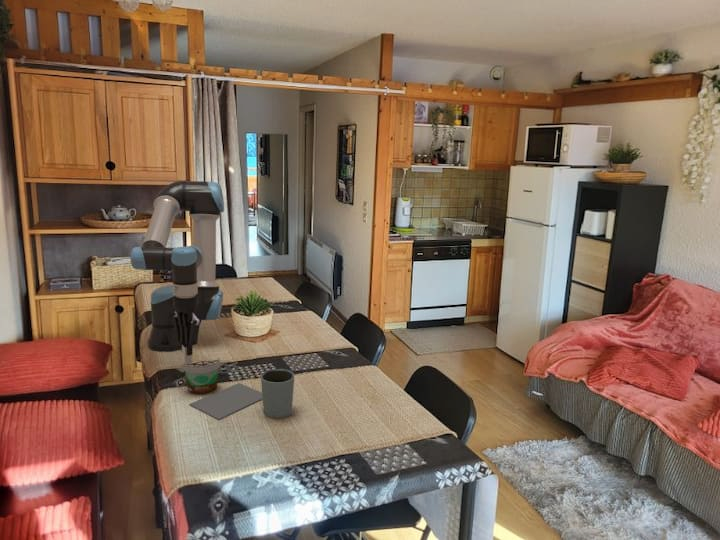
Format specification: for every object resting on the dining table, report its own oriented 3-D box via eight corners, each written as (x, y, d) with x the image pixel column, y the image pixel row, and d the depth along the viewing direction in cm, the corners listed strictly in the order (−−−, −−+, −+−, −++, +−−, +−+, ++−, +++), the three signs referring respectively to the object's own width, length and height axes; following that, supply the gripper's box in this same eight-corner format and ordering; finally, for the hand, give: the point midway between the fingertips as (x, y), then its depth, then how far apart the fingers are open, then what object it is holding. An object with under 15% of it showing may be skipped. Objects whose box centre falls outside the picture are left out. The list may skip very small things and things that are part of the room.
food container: (186, 399, 169) (185, 369, 167) (182, 391, 174) (181, 362, 172) (225, 392, 175) (224, 363, 172) (220, 384, 180) (220, 356, 178)
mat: (189, 405, 165) (189, 404, 165) (239, 383, 181) (239, 382, 181) (218, 420, 157) (218, 419, 157) (268, 396, 173) (268, 395, 173)
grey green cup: (279, 423, 157) (279, 385, 155) (253, 413, 163) (253, 376, 160) (300, 409, 166) (301, 373, 163) (275, 400, 171) (275, 365, 168)
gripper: (163, 293, 173) (165, 361, 179) (188, 301, 166) (190, 372, 171) (182, 289, 179) (185, 355, 185) (207, 296, 172) (209, 365, 177)
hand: (187, 363), depth 178 cm, fingers closed
